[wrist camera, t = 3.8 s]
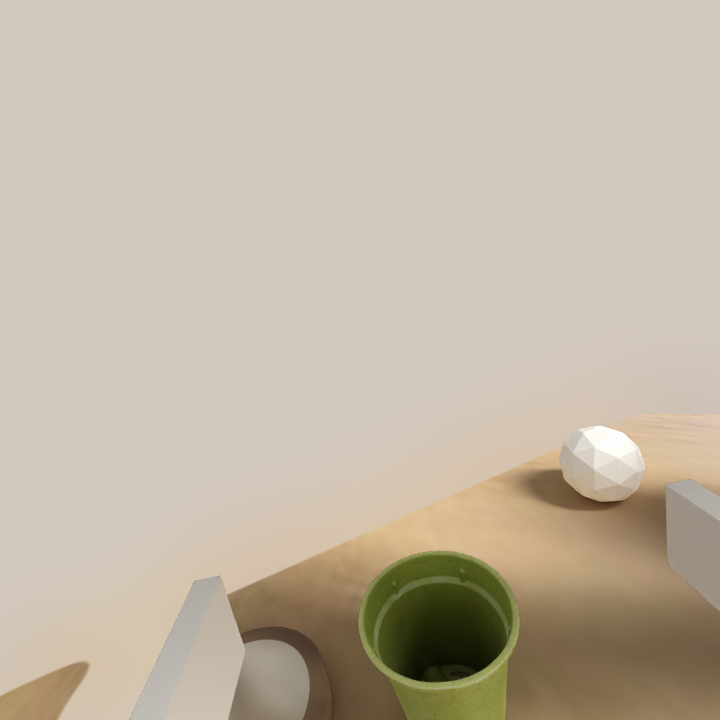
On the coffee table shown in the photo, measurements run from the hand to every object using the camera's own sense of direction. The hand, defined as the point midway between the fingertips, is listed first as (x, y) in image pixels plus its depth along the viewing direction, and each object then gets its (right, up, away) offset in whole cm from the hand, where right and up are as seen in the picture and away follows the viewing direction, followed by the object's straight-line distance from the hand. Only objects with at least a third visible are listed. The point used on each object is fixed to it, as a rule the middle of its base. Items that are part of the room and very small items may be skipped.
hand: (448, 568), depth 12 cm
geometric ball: (+24, -9, +32) cm, 41 cm away
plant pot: (+4, -17, +14) cm, 23 cm away
